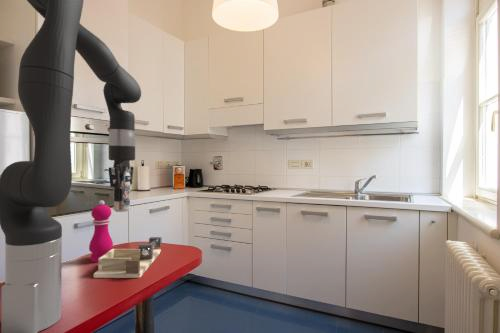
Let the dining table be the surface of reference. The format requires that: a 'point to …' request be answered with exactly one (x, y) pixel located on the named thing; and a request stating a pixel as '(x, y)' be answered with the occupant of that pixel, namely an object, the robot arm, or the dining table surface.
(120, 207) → the beer can
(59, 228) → the robot arm
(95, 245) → the pink pepper grinder
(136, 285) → the dining table surface
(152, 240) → the silver and grey bar
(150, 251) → the birch holder
